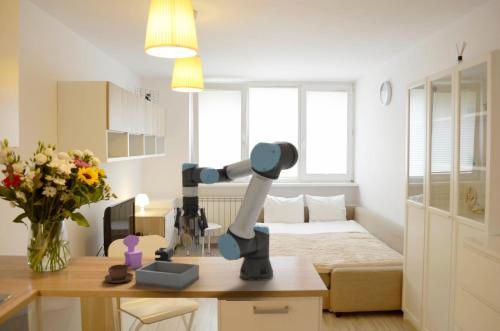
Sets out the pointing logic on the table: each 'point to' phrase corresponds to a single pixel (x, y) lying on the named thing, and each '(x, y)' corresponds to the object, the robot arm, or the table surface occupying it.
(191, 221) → the coffee box
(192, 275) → the walled bin
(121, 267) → the cup and saucer
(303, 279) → the table surface
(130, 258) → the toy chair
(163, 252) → the end cap
